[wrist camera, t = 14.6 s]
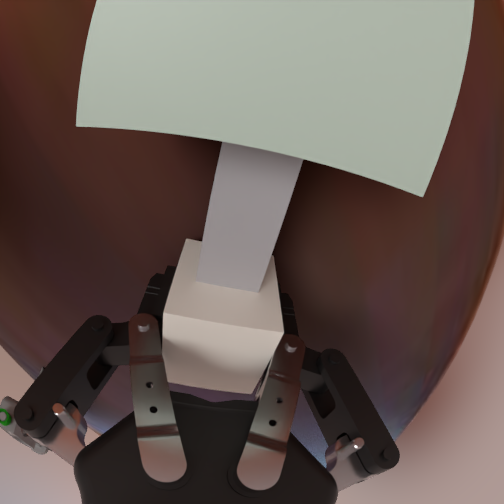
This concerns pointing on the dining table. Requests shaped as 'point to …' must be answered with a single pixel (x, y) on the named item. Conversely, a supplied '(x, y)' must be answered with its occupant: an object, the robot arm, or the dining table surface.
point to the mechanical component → (6, 421)
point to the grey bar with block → (231, 276)
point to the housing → (285, 77)
